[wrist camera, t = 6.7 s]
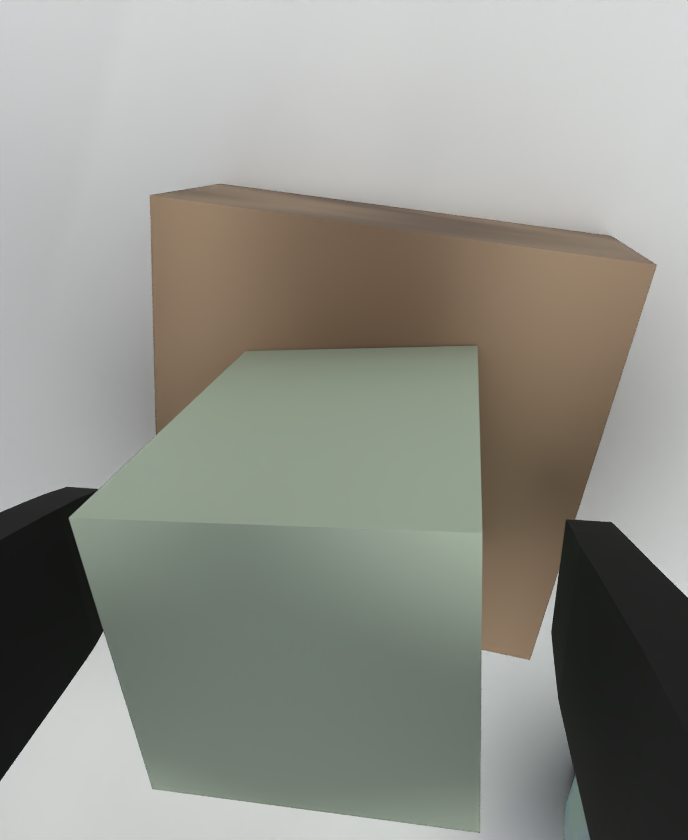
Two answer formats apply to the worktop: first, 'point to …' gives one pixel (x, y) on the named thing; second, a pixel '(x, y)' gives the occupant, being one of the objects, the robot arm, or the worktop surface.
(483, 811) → the worktop surface
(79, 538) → the green block
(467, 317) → the walnut base
